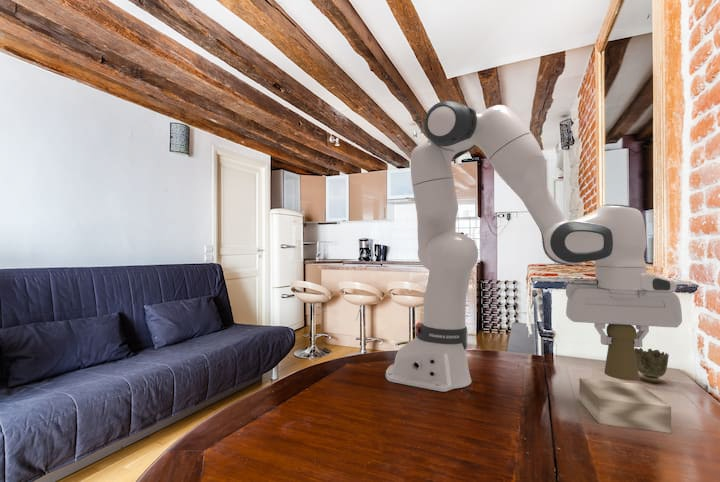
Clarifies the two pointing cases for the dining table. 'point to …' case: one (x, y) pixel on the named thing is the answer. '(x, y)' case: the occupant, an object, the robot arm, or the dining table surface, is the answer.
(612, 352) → the cork
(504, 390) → the dining table surface
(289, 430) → the dining table surface
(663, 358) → the cup
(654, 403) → the plinth
